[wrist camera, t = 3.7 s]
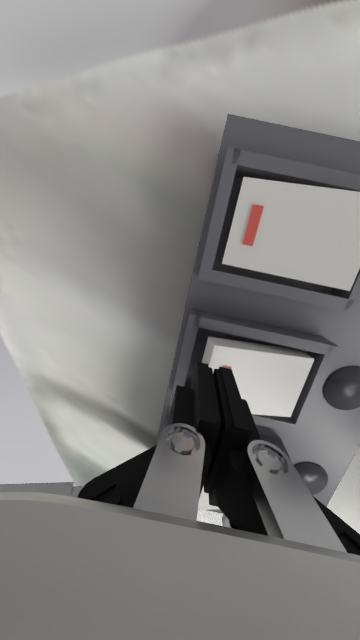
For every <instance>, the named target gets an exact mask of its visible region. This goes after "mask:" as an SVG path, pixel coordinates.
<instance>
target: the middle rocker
mask: <svg viewBox="0 0 360 640" xmlns="http://www.w3.org/2000/svg"><path fill="white" fill-rule="evenodd" d="M313 362H314V358H312V357H311V356H309V355H308V354H306V353H305V352H303V351H302V350H299V349H292V348H285V347H278V346H271V345H264V344H257V343H250V342H243V341H236V340H229V339H222V338H215V337H208V340H207V344H206V348H205V351H204V355H203V359H202V363H206V364H208V366H209V367H210V368H212V371H213V372H214V369H219V367H224V368H229V369H232V372H233V375H234V378H235V381H236V384H237V387H238V390H239V393H240V396H241V399H245V400H246V401H247V403H248V406H249V408H250V411H251V414H256V415H269V416H282V417H291V415H292V412H293V410H294V408H295V405H296V403H297V400H298V398H299V396H300V393H301V391H302V388H303V386H304V384H305V381H306V379H307V376H308V374H309V371H310V369H311V367H312V364H313Z"/></svg>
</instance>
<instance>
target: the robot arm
mask: <svg viewBox="0 0 360 640" xmlns="http://www.w3.org/2000/svg"><path fill="white" fill-rule="evenodd" d="M73 483H74V482H66V483H65V482H64V483H30V484H1V485H0V640H360V534H358V533H357V532H356V531H355V530H354V529H352V528H351V527H350V526H349V525H348V524H346V523H345V522H344V521H343V520H341V519H340V518H339V517H338V516H337V515H335V514H334V513H333V512H332V511H331V510H329V509H328V508H327V507H326V506H325V505H323V504H322V503H321V502H320V501H319V500H317V499H316V498H315V497H314V496H313V495H312V494H311V493H310V491H309V490H308V488H307V486H306V485H305V483H304V481H303V480H302V478H301V477H300V475H299V473H298V472H297V470H296V469H295V467H294V465H293V464H292V462H291V460H290V459H289V458H288V456H287V455H286V454H285V453H284V452H283V451H282V450H281V449H280V448H278V447H277V446H275V445H274V444H272V443H269V442H267V441H263V440H261V438H260V436H259V433H258V430H257V428H256V425H255V422H254V419H253V417H252V414H251V411H250V408H249V406H248V403H247V401H246V400H245V399H241V396H240V393H239V390H238V387H237V384H236V381H235V378H234V375H233V372H232V369H229V368H224V367H219V369H214V372H213V371H212V368H210V367H209V366H208V364H206V363H201V362H196V366H195V370H194V374H193V378H192V382H191V386H190V388H188V387H184V386H179V385H177V386H176V390H175V394H174V398H173V403H172V408H171V413H170V419H169V426H167V427H166V428H165V429H164V431H163V432H162V434H161V437H160V440H159V442H158V445H156V446H154V447H152V448H150V449H148V450H147V451H145V452H143V453H141V454H139V455H137V456H135V457H133V458H132V459H130V460H128V461H126V462H124V463H122V464H120V465H118V466H117V467H115V468H113V469H111V470H109V471H107V472H105V473H103V474H101V475H100V476H98V477H96V478H94V479H93V480H91V481H90V482H88V483H87V484H86V485H85V486H76V487H73ZM203 486H204V492H205V493H208V494H209V505H212V506H217V507H218V508H219V509H220V510H221V511H222V512H223V517H222V522H223V526H219V525H214V524H209V523H204V522H199V521H196V519H197V511H198V503H199V498H200V495H201V492H202V488H203Z"/></svg>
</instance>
